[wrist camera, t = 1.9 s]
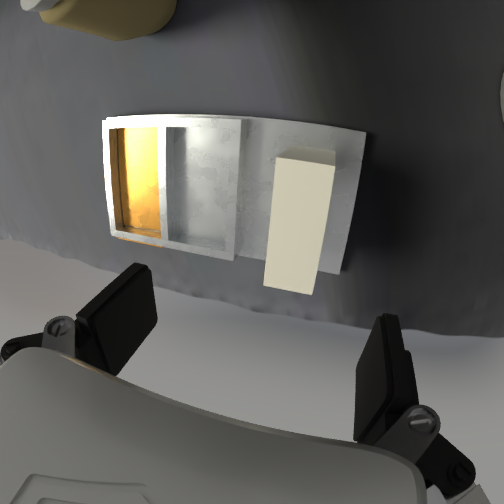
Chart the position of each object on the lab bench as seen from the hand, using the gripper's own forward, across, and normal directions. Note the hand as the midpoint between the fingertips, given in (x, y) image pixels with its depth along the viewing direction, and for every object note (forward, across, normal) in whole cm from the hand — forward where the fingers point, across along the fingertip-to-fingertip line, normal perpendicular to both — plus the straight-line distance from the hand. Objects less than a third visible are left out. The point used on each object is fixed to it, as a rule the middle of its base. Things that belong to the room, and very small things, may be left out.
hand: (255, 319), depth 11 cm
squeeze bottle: (+17, +16, -18) cm, 29 cm away
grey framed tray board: (+16, +8, 0) cm, 18 cm away
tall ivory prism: (+16, -1, 0) cm, 16 cm away
